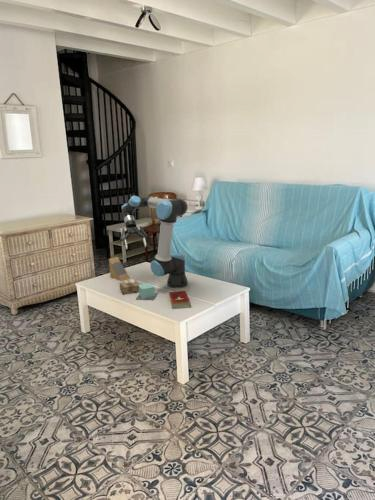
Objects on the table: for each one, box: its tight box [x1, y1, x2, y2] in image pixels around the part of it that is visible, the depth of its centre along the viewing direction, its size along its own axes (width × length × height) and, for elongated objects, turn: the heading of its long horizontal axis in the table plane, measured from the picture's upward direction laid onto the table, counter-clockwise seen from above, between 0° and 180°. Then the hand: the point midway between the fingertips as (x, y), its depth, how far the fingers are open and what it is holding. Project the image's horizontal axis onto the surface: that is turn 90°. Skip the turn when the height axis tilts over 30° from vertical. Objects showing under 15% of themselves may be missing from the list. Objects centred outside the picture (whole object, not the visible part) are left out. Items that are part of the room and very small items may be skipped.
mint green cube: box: [138, 282, 156, 299], centre depth 268 cm, size 9×9×7 cm
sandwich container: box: [108, 256, 131, 282], centre depth 309 cm, size 9×15×15 cm, turn 45°
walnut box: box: [119, 279, 140, 295], centre depth 280 cm, size 12×11×7 cm
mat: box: [135, 292, 159, 301], centre depth 269 cm, size 12×12×1 cm
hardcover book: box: [168, 290, 191, 309], centre depth 258 cm, size 12×21×4 cm, turn 7°
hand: (136, 247), depth 281 cm, fingers open, 13 cm apart
